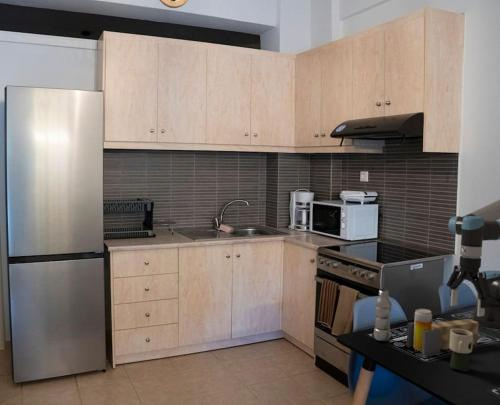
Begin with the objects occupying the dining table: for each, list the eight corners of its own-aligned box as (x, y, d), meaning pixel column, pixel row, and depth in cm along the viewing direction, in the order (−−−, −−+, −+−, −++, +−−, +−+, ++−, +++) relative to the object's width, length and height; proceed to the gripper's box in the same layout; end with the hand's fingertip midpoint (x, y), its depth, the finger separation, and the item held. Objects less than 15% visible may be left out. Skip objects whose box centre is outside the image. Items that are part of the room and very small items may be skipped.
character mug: (471, 377, 160) (473, 339, 159) (447, 373, 163) (449, 335, 161) (470, 364, 170) (472, 328, 169) (448, 361, 173) (450, 325, 171)
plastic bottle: (393, 340, 192) (395, 290, 190) (385, 344, 187) (387, 293, 185) (378, 335, 196) (380, 287, 195) (370, 340, 191) (372, 290, 190)
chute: (419, 342, 190) (420, 320, 189) (441, 354, 178) (442, 330, 177) (404, 344, 187) (405, 322, 186) (426, 356, 176) (427, 332, 175)
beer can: (431, 353, 179) (433, 314, 178) (414, 352, 180) (416, 312, 179) (428, 347, 185) (430, 309, 184) (412, 346, 186) (414, 307, 185)
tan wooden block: (468, 340, 193) (469, 318, 192) (477, 345, 189) (478, 322, 188) (427, 346, 186) (428, 323, 186) (435, 351, 182) (436, 327, 181)
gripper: (439, 250, 197) (436, 302, 199) (489, 263, 174) (484, 321, 175) (454, 250, 200) (451, 300, 201) (505, 262, 176) (500, 319, 178)
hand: (466, 310), depth 188 cm, fingers open, 13 cm apart
